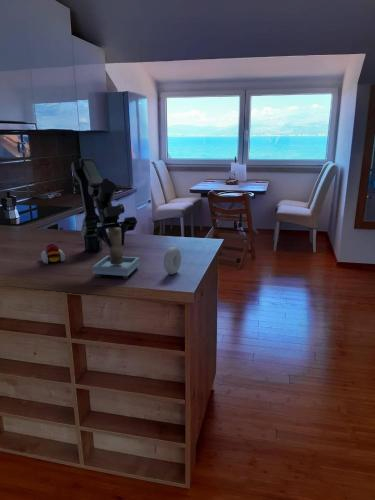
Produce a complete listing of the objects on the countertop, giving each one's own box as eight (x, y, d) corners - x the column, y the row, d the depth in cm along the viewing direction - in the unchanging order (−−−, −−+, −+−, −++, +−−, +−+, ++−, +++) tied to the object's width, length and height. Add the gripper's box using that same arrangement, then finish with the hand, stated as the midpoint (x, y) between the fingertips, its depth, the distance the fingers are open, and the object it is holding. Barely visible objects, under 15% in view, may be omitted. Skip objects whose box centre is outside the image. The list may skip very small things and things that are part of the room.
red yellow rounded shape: (44, 266, 149) (41, 248, 147) (40, 259, 157) (38, 242, 155) (66, 262, 152) (64, 245, 150) (62, 256, 161) (60, 239, 159)
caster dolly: (93, 277, 136) (92, 266, 134) (107, 266, 148) (107, 255, 147) (128, 280, 133) (127, 268, 132) (140, 268, 145) (139, 257, 144)
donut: (174, 268, 144) (174, 243, 141) (182, 270, 143) (182, 244, 140) (162, 277, 136) (161, 250, 133) (170, 278, 134) (170, 251, 131)
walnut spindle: (108, 262, 139) (105, 229, 135) (117, 259, 142) (115, 226, 139) (116, 265, 136) (114, 231, 133) (125, 262, 140) (123, 228, 136)
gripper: (82, 198, 132) (93, 237, 126) (134, 194, 140) (147, 230, 134) (79, 217, 141) (89, 254, 135) (127, 212, 149) (139, 246, 143)
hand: (116, 246), depth 136 cm, fingers closed on walnut spindle, 4 cm apart
